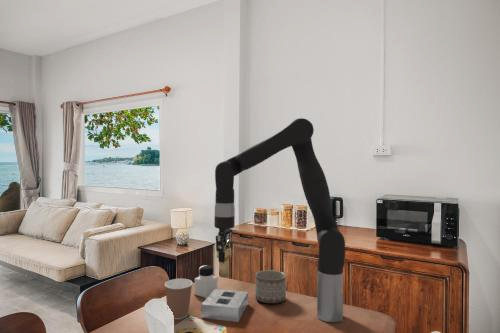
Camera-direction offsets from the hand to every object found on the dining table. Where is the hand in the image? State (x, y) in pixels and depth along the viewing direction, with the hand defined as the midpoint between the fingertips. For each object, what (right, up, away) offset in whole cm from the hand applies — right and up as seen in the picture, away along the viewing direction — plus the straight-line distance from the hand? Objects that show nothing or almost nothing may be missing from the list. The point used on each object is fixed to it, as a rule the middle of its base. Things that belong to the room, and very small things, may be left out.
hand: (223, 259), depth 129 cm
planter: (+18, -21, +15) cm, 32 cm away
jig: (0, -21, +4) cm, 21 cm away
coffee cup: (-17, -21, -1) cm, 27 cm away
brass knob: (0, -6, 0) cm, 6 cm away
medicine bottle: (-9, -21, +20) cm, 30 cm away
